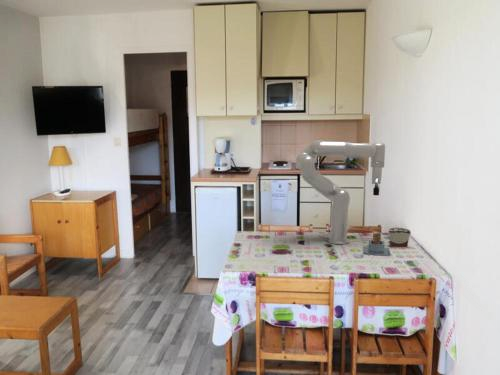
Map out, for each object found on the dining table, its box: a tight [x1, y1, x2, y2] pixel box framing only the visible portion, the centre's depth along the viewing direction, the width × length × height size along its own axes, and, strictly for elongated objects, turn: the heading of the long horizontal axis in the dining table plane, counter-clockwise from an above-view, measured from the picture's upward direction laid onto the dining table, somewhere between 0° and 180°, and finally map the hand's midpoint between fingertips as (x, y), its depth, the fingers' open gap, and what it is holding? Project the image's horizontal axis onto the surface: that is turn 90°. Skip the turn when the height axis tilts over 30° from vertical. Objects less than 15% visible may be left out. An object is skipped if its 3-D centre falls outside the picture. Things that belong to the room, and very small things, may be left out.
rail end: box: [372, 230, 382, 244], centre depth 237 cm, size 4×4×10 cm
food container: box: [387, 227, 412, 248], centre depth 248 cm, size 12×6×10 cm, turn 84°
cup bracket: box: [362, 239, 391, 257], centre depth 238 cm, size 14×12×5 cm
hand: (376, 193), depth 255 cm, fingers open, 9 cm apart
